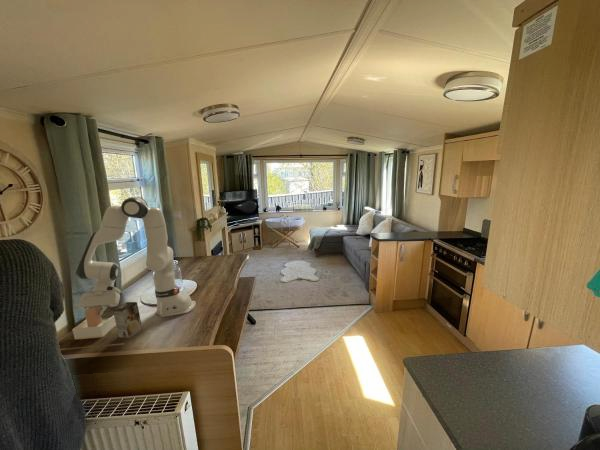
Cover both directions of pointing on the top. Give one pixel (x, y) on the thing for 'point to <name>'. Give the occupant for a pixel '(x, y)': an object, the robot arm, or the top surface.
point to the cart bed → (93, 329)
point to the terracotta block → (93, 317)
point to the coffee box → (127, 319)
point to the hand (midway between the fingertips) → (94, 315)
